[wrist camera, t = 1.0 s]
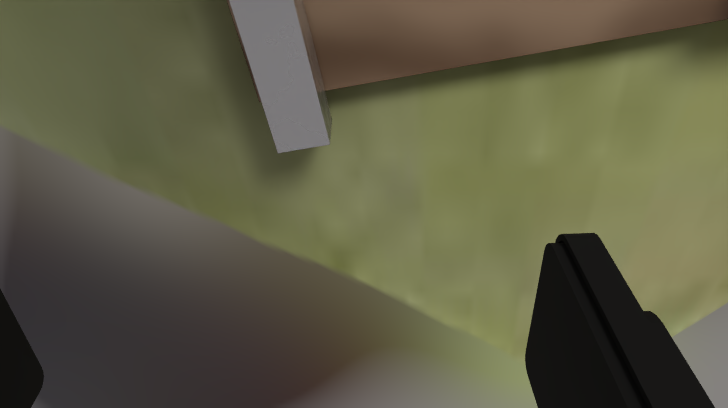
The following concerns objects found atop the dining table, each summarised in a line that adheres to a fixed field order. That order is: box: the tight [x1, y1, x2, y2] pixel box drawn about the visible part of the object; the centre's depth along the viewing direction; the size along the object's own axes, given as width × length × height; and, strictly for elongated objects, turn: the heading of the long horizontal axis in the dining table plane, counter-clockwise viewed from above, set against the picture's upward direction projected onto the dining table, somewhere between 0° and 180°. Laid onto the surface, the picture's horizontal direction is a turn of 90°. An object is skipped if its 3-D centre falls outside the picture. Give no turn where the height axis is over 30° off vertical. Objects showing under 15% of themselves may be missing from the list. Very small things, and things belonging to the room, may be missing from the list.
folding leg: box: [229, 0, 332, 153], centre depth 29 cm, size 15×3×3 cm, turn 11°
